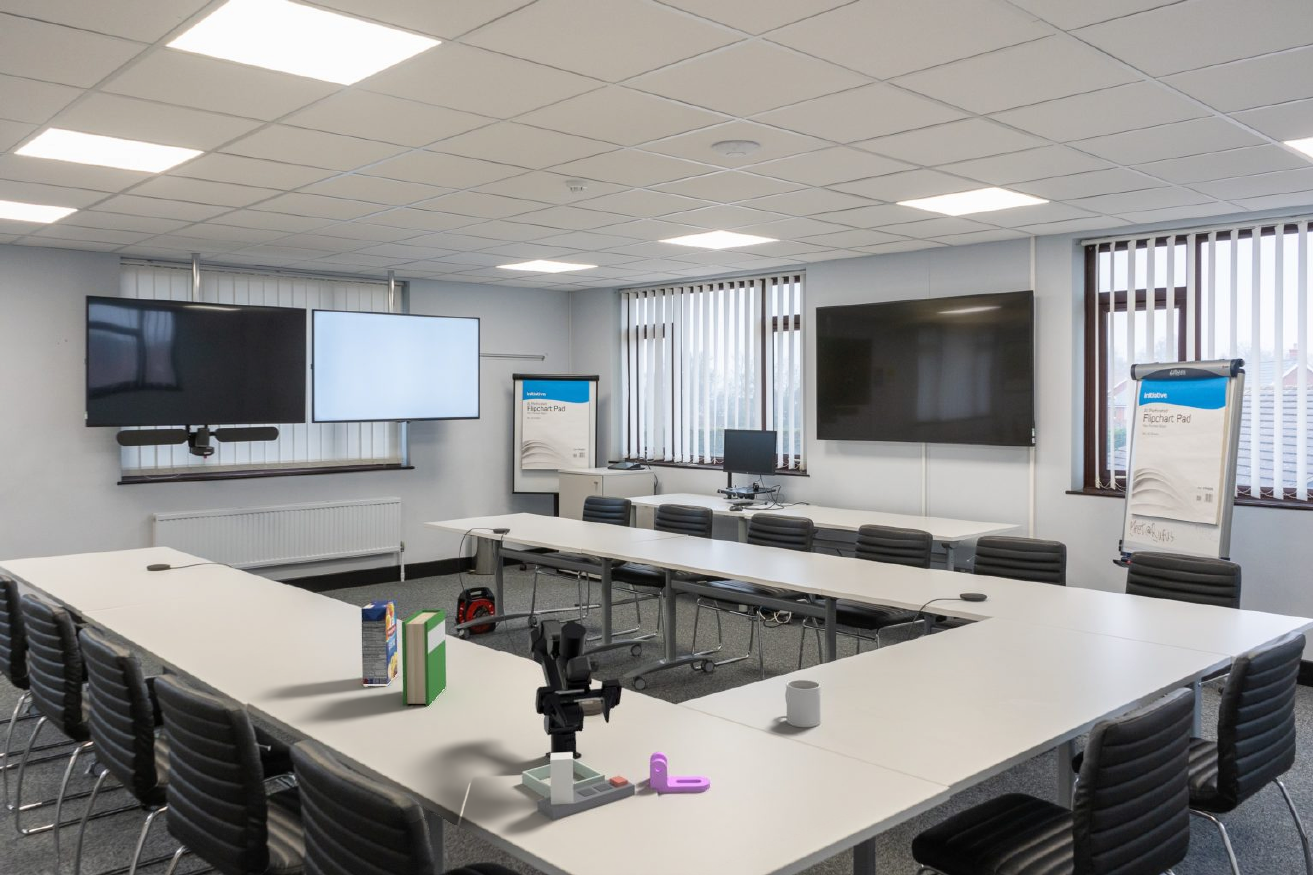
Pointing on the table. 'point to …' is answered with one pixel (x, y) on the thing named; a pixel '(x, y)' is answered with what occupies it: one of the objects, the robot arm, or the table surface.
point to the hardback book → (423, 656)
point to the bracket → (673, 778)
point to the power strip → (589, 797)
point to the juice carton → (379, 642)
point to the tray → (534, 775)
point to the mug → (803, 703)
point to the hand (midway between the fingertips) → (587, 723)
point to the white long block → (561, 778)
